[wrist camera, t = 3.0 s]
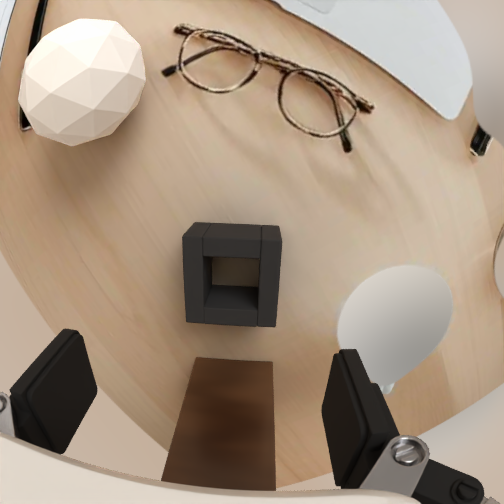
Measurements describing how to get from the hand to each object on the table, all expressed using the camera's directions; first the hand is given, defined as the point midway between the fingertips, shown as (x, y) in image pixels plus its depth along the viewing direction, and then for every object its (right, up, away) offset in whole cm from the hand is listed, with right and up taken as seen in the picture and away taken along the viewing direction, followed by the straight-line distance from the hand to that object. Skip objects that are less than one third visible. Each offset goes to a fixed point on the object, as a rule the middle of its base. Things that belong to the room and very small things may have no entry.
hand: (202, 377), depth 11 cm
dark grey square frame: (+1, +4, +11) cm, 12 cm away
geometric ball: (-8, +15, +7) cm, 19 cm away
